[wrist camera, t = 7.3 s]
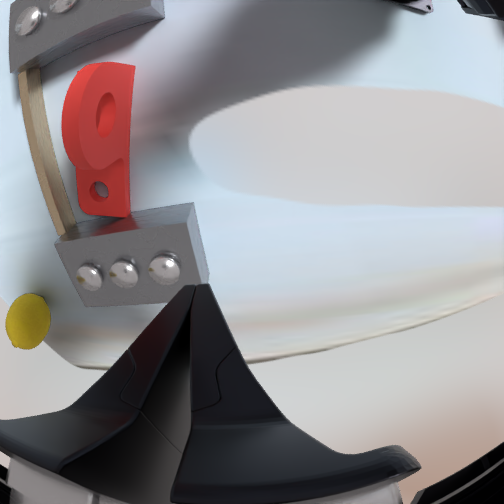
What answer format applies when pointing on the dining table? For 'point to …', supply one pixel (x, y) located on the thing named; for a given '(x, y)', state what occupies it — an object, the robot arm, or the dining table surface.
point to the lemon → (28, 321)
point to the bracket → (100, 135)
